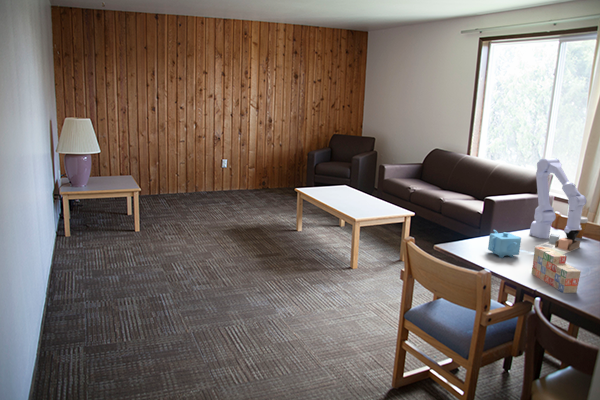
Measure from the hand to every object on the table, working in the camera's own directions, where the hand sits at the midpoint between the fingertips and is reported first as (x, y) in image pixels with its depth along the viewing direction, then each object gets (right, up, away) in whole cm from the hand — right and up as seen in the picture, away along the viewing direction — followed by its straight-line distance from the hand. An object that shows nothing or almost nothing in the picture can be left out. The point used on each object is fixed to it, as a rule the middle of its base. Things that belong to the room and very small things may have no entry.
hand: (570, 243), depth 245 cm
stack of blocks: (-33, -12, -45) cm, 57 cm away
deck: (-8, -3, -2) cm, 8 cm away
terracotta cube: (-5, -2, -3) cm, 6 cm away
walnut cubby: (-2, -2, -1) cm, 3 cm away
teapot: (-40, -4, -12) cm, 42 cm away
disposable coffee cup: (+14, +1, +19) cm, 24 cm away
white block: (-6, 0, +5) cm, 8 cm away
